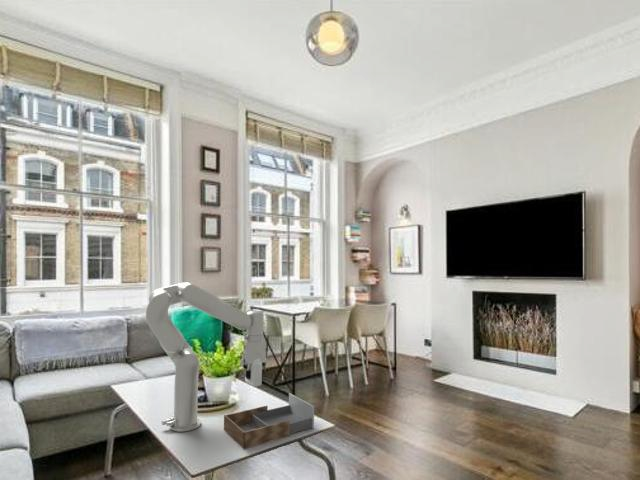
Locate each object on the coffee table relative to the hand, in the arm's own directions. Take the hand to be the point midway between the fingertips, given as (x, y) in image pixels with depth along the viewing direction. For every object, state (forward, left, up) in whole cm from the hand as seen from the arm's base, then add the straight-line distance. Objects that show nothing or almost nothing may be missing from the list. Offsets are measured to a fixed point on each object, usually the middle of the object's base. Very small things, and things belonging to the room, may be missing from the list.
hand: (253, 377), depth 186 cm
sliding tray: (+4, -19, -17) cm, 25 cm away
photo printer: (0, 0, -3) cm, 3 cm away
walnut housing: (-7, -19, -17) cm, 26 cm away
